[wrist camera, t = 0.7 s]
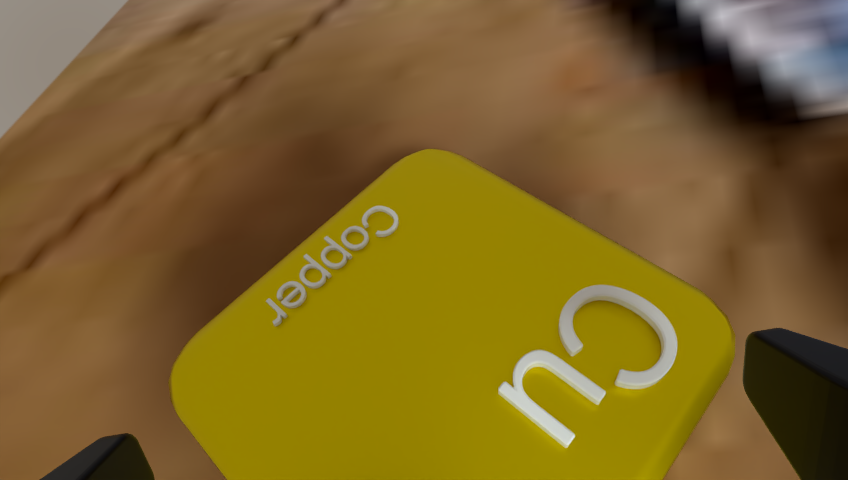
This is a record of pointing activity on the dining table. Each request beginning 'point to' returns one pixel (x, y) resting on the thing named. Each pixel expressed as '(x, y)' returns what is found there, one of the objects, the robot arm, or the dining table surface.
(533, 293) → the element tile
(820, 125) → the dining table surface
